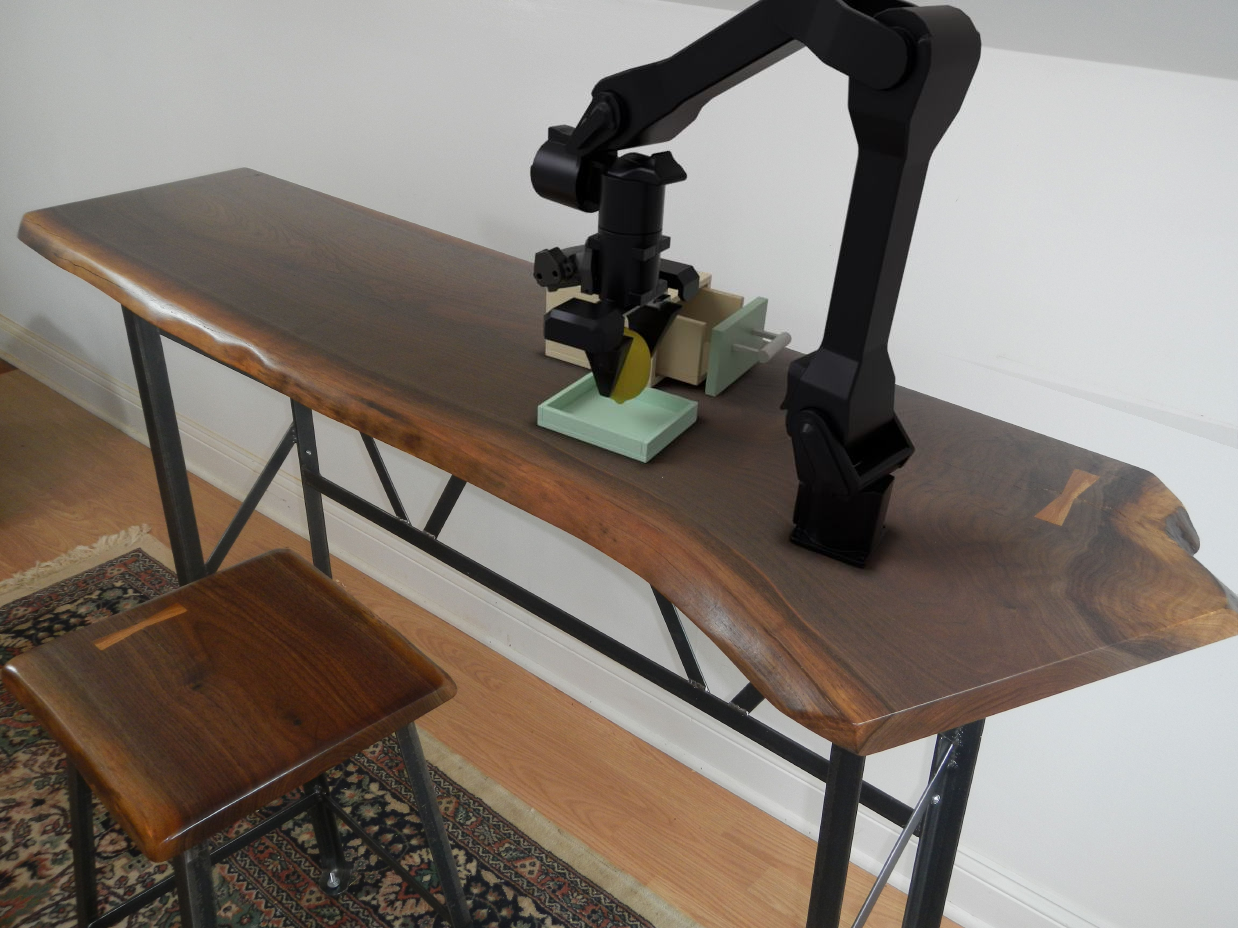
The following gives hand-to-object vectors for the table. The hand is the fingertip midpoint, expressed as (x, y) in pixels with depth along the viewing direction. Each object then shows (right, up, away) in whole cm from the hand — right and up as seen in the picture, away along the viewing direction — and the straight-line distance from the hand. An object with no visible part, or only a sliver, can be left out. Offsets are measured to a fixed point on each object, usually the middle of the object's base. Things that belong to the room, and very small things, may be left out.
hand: (621, 385), depth 92 cm
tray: (0, -4, +2) cm, 4 cm away
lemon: (0, -2, +1) cm, 2 cm away
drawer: (+9, +3, +12) cm, 15 cm away
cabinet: (+1, +5, +17) cm, 18 cm away
